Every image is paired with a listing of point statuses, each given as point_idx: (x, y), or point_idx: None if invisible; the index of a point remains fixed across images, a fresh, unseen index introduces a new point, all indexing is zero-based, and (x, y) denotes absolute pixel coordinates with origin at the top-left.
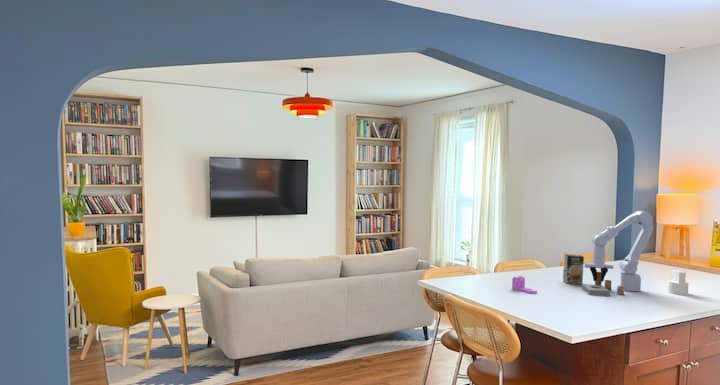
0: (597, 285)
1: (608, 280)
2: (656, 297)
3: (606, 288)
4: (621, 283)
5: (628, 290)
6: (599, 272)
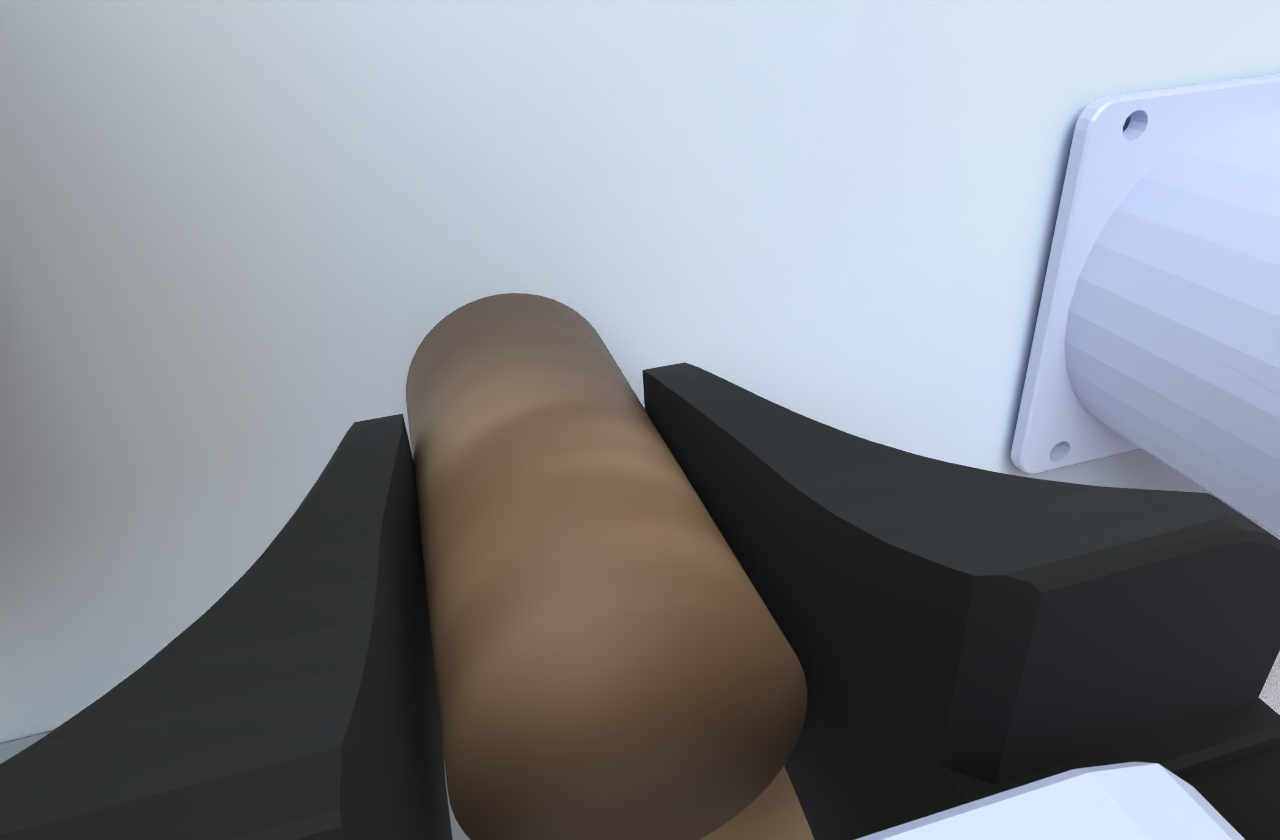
0: None
1: (790, 815)
2: (1269, 679)
3: None
4: (1173, 409)
5: (1125, 445)
6: (660, 806)
